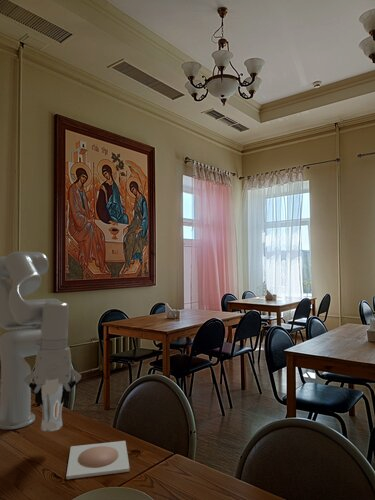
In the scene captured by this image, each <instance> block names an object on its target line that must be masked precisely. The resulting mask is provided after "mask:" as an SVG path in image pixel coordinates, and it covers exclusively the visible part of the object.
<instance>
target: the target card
mask: <svg viewBox="0 0 375 500" xmlns="http://www.w3.org/2000/svg"><path fill="white" fill-rule="evenodd" d="M126 441H127V440H119V441H110V442H102V443H91V444H83V445H82V444H80V445H72V446H70V450H69V456H68V464H67V470H66V476H65V477H66V479H65V480H72V479H79V478H87V477H88V478H89V477H95V476H97V477H99V476H105V475H112V474H119V473H128V472H130V468H131V467H130V463H129V462H130V461H129V456H128V449H127V442H126Z"/></svg>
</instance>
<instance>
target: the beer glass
mask: <svg viewBox="0 0 375 500" xmlns="http://www.w3.org/2000/svg"><path fill="white" fill-rule="evenodd" d="M64 391H65V387H64V384H58V379H46V383H45V384H44V385H41V388H40V399H41V405H40V406H41V412H42V418H41V424H40V430H41V431H43V432H55V431H58V430H60V429H62V427H63V426H64V425H63V419H62V411H63V405H64Z"/></svg>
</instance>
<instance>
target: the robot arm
mask: <svg viewBox="0 0 375 500" xmlns="http://www.w3.org/2000/svg"><path fill="white" fill-rule="evenodd" d="M49 265H50V262H49V258H48V257H47V256H46V254H45V253H43V252H40V251H21V250H20V251H14V252H13V251H12V252H11V253H9V254H7V255H5V256H0V328H1V329H3V330H9V331H7V332H5V333H3V334H1V336H0V365H1V366H0V367H1V368H0V370H1V371H0V375H1V376H0V430H5V431H7V430H16V429H22V428H24V427H27V426H30V425H31V424H33V422H35V421H36V415H35V414H34V413H33V412H31V410H32V408H31V407H32V406H31V404H32V403H31V402H32V399H31V397H32V395H31V394H32V391H33V393H34V394H35V397H34V398H35V399H34V403H35V404H36V407H38V408H39V407H40V406H41V399H40V388H41V385H44V384H45V383H46V379H58V384H64V387H65V391H64V401H63V405H64V406H67V403H68V402H70V398H71V397H70V396H71V395H70V392H71V390H72V389H73V388H74V387H75V386H76V384H77V383H78V382H79V381H80V380H81V379H82V374H80V373H79V372H78V371H76V369H74V368H73V367H72V354H71V348H70V346H69V345H68V343H69V342H68V341H69V340H68V339H69V316H70V315H69V314H70V313H69V312H70V311H69V310H70V308H69V307H70V306H69V304H68V303H67V302H64V301H60V300H59V299H58V298H53V297H52V298H36V299H35V298H33V299H23V298H24V297H26V296H28V295H31V294H33V293H34V292H36V291H37V290H38V289H39V288H40V286H41V285H42V277H41V276H43V275H45V274H46V273H48V270H49ZM8 280H11V281H12V283H10V282H9V281H8ZM10 330H11V331H10ZM31 356H36V357H35V365H34V370H33V371H32V369H31V366H30V364H29V363H28V362H27V361H26V360H25V358H26V357H27V358H28V357H31ZM72 376H73V377H74V379H72ZM32 379H33V380H32ZM71 379H72V381H71Z"/></svg>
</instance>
